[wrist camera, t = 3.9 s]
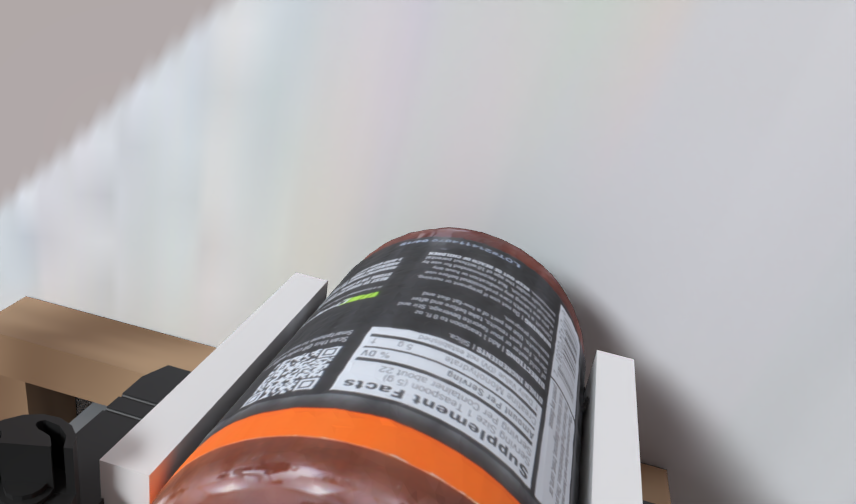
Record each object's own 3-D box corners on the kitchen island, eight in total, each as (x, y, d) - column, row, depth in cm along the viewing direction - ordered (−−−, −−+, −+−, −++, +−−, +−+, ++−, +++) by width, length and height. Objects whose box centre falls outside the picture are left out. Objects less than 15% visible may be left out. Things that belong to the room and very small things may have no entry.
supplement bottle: (483, 482, 18) (311, 1161, 8) (298, 342, 18) (-131, 848, 7) (645, 330, 15) (711, 1049, 5) (431, 163, 15) (51, 566, 5)
